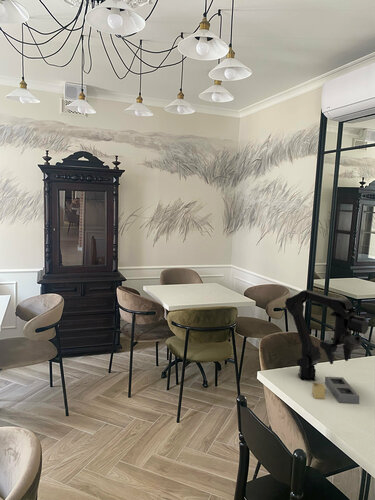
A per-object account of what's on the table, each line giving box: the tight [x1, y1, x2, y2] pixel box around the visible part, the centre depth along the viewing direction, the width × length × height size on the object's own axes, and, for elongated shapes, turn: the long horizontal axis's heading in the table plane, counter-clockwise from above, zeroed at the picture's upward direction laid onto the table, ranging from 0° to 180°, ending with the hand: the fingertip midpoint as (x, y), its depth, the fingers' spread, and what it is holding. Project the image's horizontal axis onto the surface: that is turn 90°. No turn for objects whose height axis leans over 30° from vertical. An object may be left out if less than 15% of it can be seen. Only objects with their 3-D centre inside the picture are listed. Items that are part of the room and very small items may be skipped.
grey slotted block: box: [324, 376, 360, 405], centre depth 154 cm, size 8×18×3 cm, turn 176°
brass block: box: [311, 382, 326, 400], centre depth 150 cm, size 4×4×5 cm
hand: (338, 362), depth 155 cm, fingers open, 9 cm apart
